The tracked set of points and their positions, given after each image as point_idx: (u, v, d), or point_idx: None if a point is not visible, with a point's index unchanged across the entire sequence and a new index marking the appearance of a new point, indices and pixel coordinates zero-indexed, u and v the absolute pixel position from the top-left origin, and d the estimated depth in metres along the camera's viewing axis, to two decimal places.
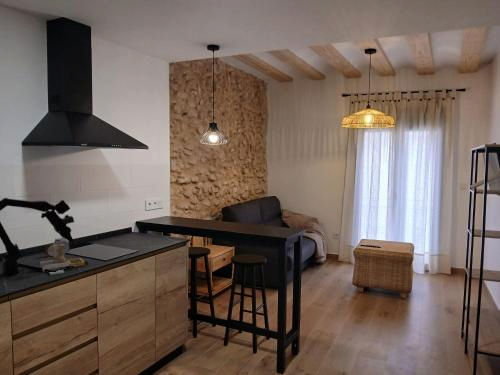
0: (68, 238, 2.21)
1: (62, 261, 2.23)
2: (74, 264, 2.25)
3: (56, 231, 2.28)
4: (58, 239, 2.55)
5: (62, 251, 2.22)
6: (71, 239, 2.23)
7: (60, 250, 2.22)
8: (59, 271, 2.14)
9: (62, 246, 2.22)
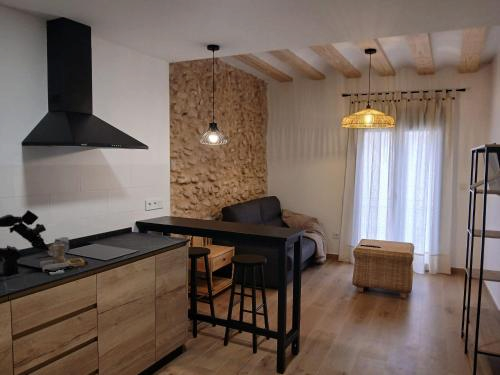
0: (43, 248, 2.14)
1: (62, 261, 2.23)
2: (74, 264, 2.25)
3: None
4: (58, 239, 2.55)
5: (62, 251, 2.22)
6: (46, 248, 2.15)
7: (60, 250, 2.22)
8: (59, 271, 2.14)
9: (62, 246, 2.22)
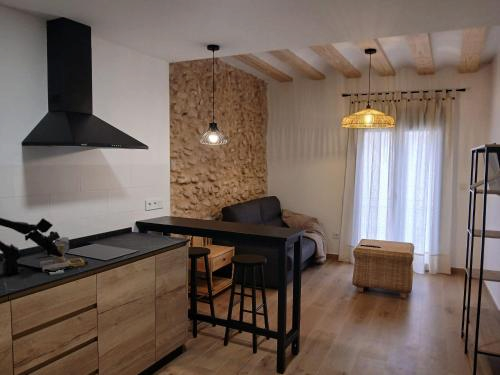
0: (56, 254, 2.20)
1: (62, 261, 2.23)
2: (74, 264, 2.25)
3: None
4: (58, 239, 2.55)
5: (62, 251, 2.22)
6: (60, 254, 2.21)
7: (60, 250, 2.22)
8: (59, 271, 2.14)
9: (62, 246, 2.22)
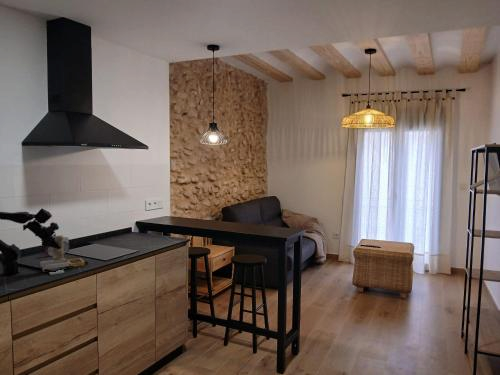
0: (54, 246, 2.13)
1: (60, 253, 2.16)
2: (74, 264, 2.25)
3: None
4: None
5: (60, 243, 2.15)
6: (58, 246, 2.14)
7: (58, 242, 2.15)
8: (59, 271, 2.14)
9: (60, 238, 2.15)
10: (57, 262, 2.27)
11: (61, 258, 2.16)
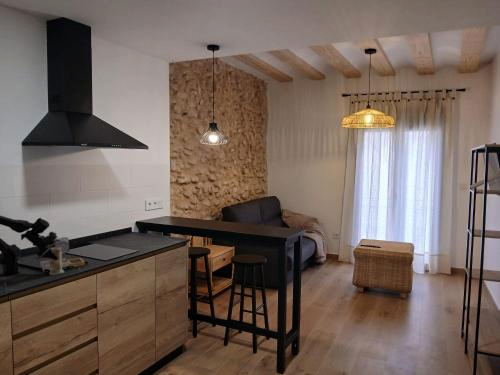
0: (50, 257, 2.08)
1: (58, 266, 2.12)
2: (74, 264, 2.25)
3: None
4: (58, 239, 2.55)
5: (58, 255, 2.11)
6: (54, 257, 2.09)
7: (55, 254, 2.11)
8: None
9: (58, 250, 2.11)
10: None
11: (58, 270, 2.12)
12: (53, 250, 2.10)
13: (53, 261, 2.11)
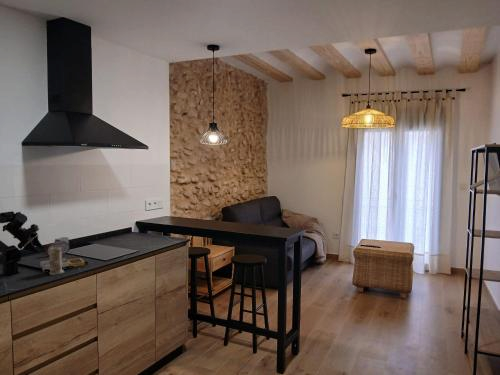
0: (31, 249, 2.04)
1: (58, 266, 2.12)
2: (74, 264, 2.25)
3: None
4: (58, 239, 2.55)
5: (58, 255, 2.11)
6: (35, 250, 2.05)
7: (55, 255, 2.11)
8: None
9: (58, 250, 2.11)
10: None
11: (58, 270, 2.12)
12: (53, 250, 2.10)
13: (53, 261, 2.11)
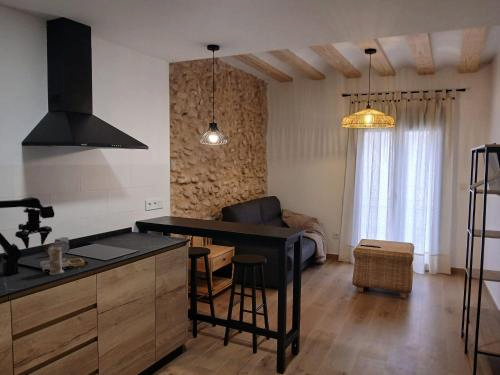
0: None
1: (58, 266, 2.12)
2: (74, 264, 2.25)
3: (27, 236, 2.11)
4: (58, 239, 2.55)
5: (58, 255, 2.11)
6: None
7: (55, 255, 2.11)
8: None
9: (58, 250, 2.11)
10: None
11: (58, 270, 2.12)
12: (53, 250, 2.10)
13: (53, 261, 2.11)
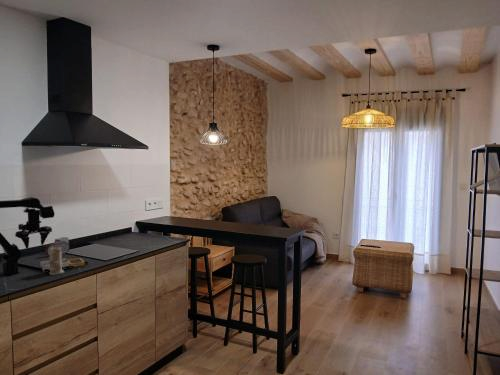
0: None
1: (58, 266, 2.12)
2: (74, 264, 2.25)
3: (27, 236, 2.11)
4: (58, 239, 2.55)
5: (58, 255, 2.11)
6: None
7: (55, 255, 2.11)
8: None
9: (58, 250, 2.11)
10: None
11: (58, 270, 2.12)
12: (53, 250, 2.10)
13: (53, 261, 2.11)
